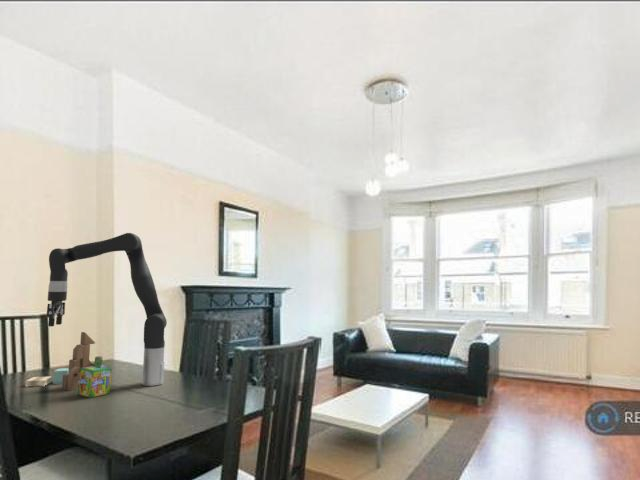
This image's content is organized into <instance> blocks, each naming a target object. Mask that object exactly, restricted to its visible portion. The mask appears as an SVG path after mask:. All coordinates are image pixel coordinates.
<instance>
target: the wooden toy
mask: <svg viewBox="0 0 640 480" xmlns="http://www.w3.org/2000/svg"><path fill="white" fill-rule="evenodd" d="M79 342H80V343H79V344H77V345H75V347H74V348H73V350H72V359H69V360H68V368H69V372H68V374H65V375H63V379H62V384H61V390H65V391H76V390H79V383H80V373H81V368H84V367H90V366H94V363H92V362H91V360H90V354H91V353H90V352H91V351H90V349H91V345H95V344H96V341H94V340H93V339H92V338H91V337H90V335H88V334H87V333H86V331H81V333H80V341H79ZM96 359H101V360H103V356H102V355H101V356H95V357H94V361H95V360H96ZM96 364H97V365H99V362H97V363H96ZM101 365H103V363H102V364H101Z"/></svg>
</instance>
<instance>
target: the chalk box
mask: <svg viewBox="0 0 640 480" xmlns="http://www.w3.org/2000/svg"><path fill="white" fill-rule="evenodd" d="M97 362H99V365H97V364H96V363H97ZM93 364H94V366H90V367H84V368H81V373H80V380H79V382H78V396H83V397H86V398H89V399H91V398H96V397H99V396H103V395H108V394H110V393H111V384H112V383H111V380H112V371H113V370H112V369H113V368H112V367H111V366H108V365H106V364H105V365H103V359H102V360H101V359H96V360H95V359H94V363H93ZM101 364H102V365H101Z"/></svg>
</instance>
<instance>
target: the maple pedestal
mask: <svg viewBox="0 0 640 480" xmlns="http://www.w3.org/2000/svg"><path fill="white" fill-rule="evenodd" d="M51 383H53V376H51V375H50V376H34V377H33V376H32V377H31V378H29V379H27V380H25V387H27V388H28V386H34V387H46V386H47V385H50V384H51ZM45 385H46V386H45Z"/></svg>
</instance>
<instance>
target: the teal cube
mask: <svg viewBox="0 0 640 480" xmlns="http://www.w3.org/2000/svg"><path fill="white" fill-rule="evenodd" d="M68 372H69V367H67V368H66V367H64V368H63V367H61V368H57V369H55V370H54V371H53V377H52V384H53V385H55V384H56V385H57V384H58V385H59V384H61V385H62V379H63V375H65V374H68Z"/></svg>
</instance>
